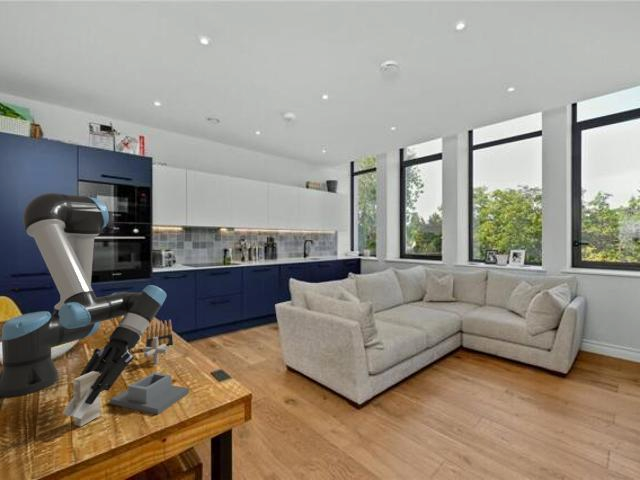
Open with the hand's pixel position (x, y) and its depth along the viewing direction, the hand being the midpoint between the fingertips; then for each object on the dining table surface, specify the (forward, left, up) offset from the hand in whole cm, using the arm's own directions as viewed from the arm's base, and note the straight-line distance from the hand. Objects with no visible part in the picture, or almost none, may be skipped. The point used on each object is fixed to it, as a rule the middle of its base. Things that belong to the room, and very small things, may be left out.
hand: (71, 415), depth 77 cm
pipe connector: (+5, +41, -4) cm, 41 cm away
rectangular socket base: (+14, +14, -4) cm, 20 cm away
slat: (+2, +4, -3) cm, 5 cm away
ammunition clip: (0, +58, -4) cm, 58 cm away
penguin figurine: (-15, +68, -4) cm, 69 cm away
